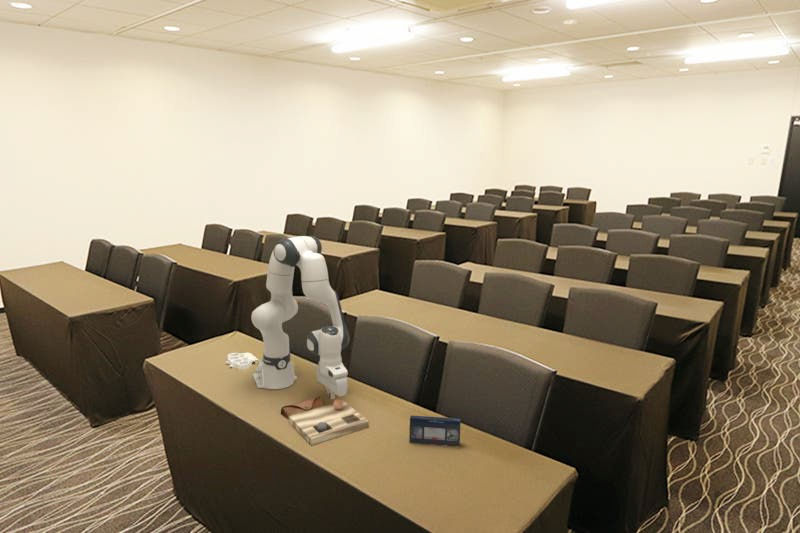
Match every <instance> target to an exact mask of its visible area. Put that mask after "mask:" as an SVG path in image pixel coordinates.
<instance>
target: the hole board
mask: <svg viewBox="0 0 800 533" xmlns="http://www.w3.org/2000/svg"><path fill="white" fill-rule="evenodd" d="M342 401H343V407H342V408H341V409H336V408H334V406H333V403H331V404H327V405H325V406H323V407H319V408H316V409H312V410H309V411H305V412H302V413H298V414H295V415H291V416H289V420H288V422H289V424H290V425H291V426H292V427H293V428H294V429H295V430H296V431H297V433H299V434H300V435H301V436H302V437H303V439H304V440H306V442H307V443H309V445H310V446H314V445H317V444H320V443H323V442H326V441H329V440H332V439H335V438H338V437H342V436H344V435H348V434H351V433H354V432H357V431H360V430H363V429H366V428H369V423H370V421H369V420H368V419H367V418H366V417H364V416H363V415H362V414H361V413H359V412H358V411H357V410H356V409H354V408H353V407H352V406H350V405H349V404H348V403H347V402H346V401H345V400H342ZM320 422H324V423H326V425H327V430H326V431H324V432H321V433H319V432H318V431H317V429H316V427H317V424H318V423H320Z"/></svg>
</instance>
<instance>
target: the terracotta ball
mask: <svg viewBox="0 0 800 533" xmlns="http://www.w3.org/2000/svg"><path fill="white" fill-rule="evenodd" d="M343 401H344V400H342V399H340V398H336V399H334V401H333V403H332V404H333V406H334V408H336V409H341V408H342V407H343Z"/></svg>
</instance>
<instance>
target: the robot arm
mask: <svg viewBox="0 0 800 533" xmlns="http://www.w3.org/2000/svg"><path fill="white" fill-rule="evenodd" d="M322 251H323V247H322V242H321V241H320V239H319V238H318V237H316V236H314V235H298V236H292V237H288V238H287V237H286V238H282V239H279V240H278V241H276V242H275V244H274V246H273V250H272V251H271V252H272V253H271V255H270V257H269V262H268V267H267V275H266V281H265V282H266V283H265V287H266V289H267V291H269V292H270V300H269V301H267V302H265V303H262V304H260V305H259V306H258V307H256V308H255V309H254V310H253V311H251V316H250V317H251V322H252V324H253V326H254V327H255V328H256V329H257V330H259V331H260V333H261V336H262V341H263V352H262V353H263V355H262V361H260V363H259V364H258V365H257V368H255V372H254V373H253V375H252V377H253V380H254V382H255V385H256V387H257V388H258V389H267V390H280V389H285V388H289V387H290V386H292V385H293V384H294V383H295V381H297V380H298V376H297V375H295V367H294V362H292V361H291V358H292V356H291V351H290V337H289V334H288V333H286V332H284V329H283V323H284V322H287V321H289V320H291V319H292V318H293V317H294V316H295V315H296V314H297V313H298V310H299V305H298V301H297V300H296V299H295V298H294V297H293V296H294V295H293V283H294V282H293V281H294V274H295V268H296V266H297V267H298V268H299V270H300V279H301V288H302V290H301V291H302V293H303V295H304V296H305V297H306V298H307V299H309V300H311V301H313V302H317V303H321V304H324V305H326V306H327V308H328V309H329V313H330V317H331V322H332V326H331V325H326V326H323V327H321V329H315V330H312V331H310V332H309V333H308V334H307V336H306V338H305V339H306V340H305V341H306V342H305V345H306V349H307V351H309V352H310V353H311V354H313V355H316V356H317V355H319V361H318V364H317V366H316V373H315V374H316V375H315V376H316V380H317V382H319V383H320V384H321V385H323V386H324V387H325V388H326V392H327V397H328V398H329V399H331V400H336V399H335V398H336V396H338V397H342V396H346V395H347V393H348V378H347V376H348V374H349V372H348V370H347V368H346V367H345V365H344V364H343V362H342V361H343V359H342V355H341V352H342V350H344V349H346V347H347V346H348V345H349V343H350V333H349V331H348V328H347V325H346V322H345V318H344V317H345V316H344V313H343V310H342V305H341V301H340V298H339V295H338V292H337V291H336V290H335V289H333V288H332V287H331V285H330V281H329V272H328V266H327V263H326V259H325V257H324V255H322Z"/></svg>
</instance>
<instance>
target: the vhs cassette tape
mask: <svg viewBox="0 0 800 533" xmlns="http://www.w3.org/2000/svg"><path fill="white" fill-rule="evenodd" d="M461 423H462V422H461V418H455V417H441V416H439V417H438V416H427V415H426V416H425V415H410V417H409V438H408V442H409V443H410V444H417V443H419V444H420V445H430V444H436V445H435V446H442V445H447V446H446V447H455V446H459V447H461V446H460V444H461V442H460V441H461Z"/></svg>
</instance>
